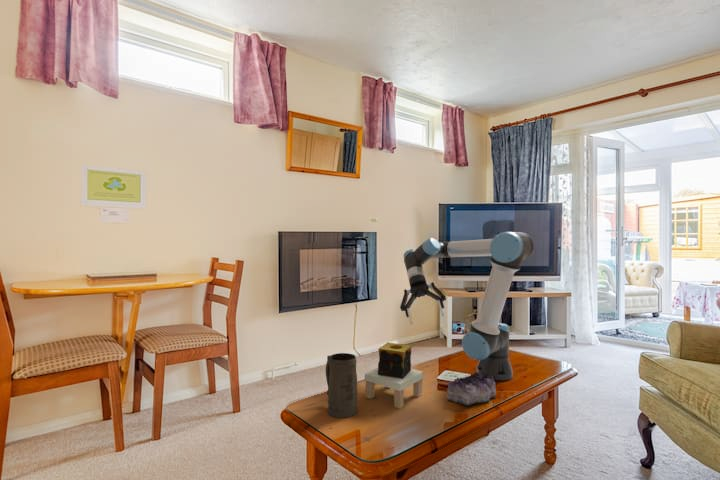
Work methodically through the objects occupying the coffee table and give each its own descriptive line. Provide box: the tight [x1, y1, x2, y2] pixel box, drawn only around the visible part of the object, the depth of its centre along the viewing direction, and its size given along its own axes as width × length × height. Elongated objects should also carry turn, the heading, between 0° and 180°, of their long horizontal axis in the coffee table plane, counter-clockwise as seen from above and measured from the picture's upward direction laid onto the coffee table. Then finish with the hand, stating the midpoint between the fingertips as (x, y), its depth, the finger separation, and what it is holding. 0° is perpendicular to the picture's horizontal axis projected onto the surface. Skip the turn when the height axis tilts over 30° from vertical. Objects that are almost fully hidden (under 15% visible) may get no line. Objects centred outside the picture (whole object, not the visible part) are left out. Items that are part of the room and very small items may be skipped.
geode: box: [446, 373, 497, 406], centre depth 149 cm, size 20×12×10 cm, turn 118°
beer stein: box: [325, 352, 359, 419], centre depth 139 cm, size 15×10×20 cm
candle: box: [377, 342, 412, 379], centre depth 150 cm, size 10×10×10 cm
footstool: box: [364, 367, 424, 410], centre depth 151 cm, size 16×16×9 cm
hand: (426, 318), depth 168 cm, fingers open, 13 cm apart
